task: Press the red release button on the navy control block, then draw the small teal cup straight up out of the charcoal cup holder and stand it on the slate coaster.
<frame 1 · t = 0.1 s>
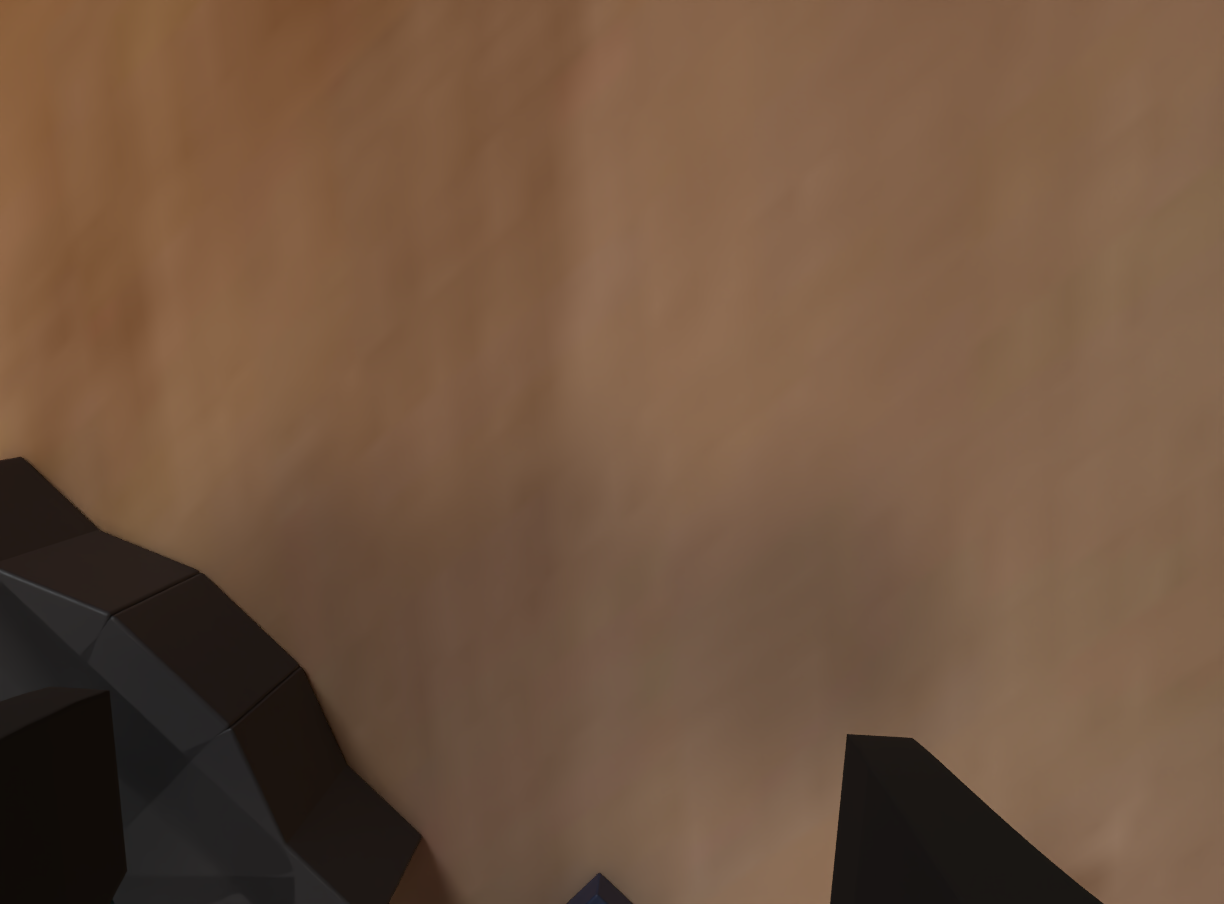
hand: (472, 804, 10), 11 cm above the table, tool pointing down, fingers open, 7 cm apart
cup holder: (32, 848, 22), on the table
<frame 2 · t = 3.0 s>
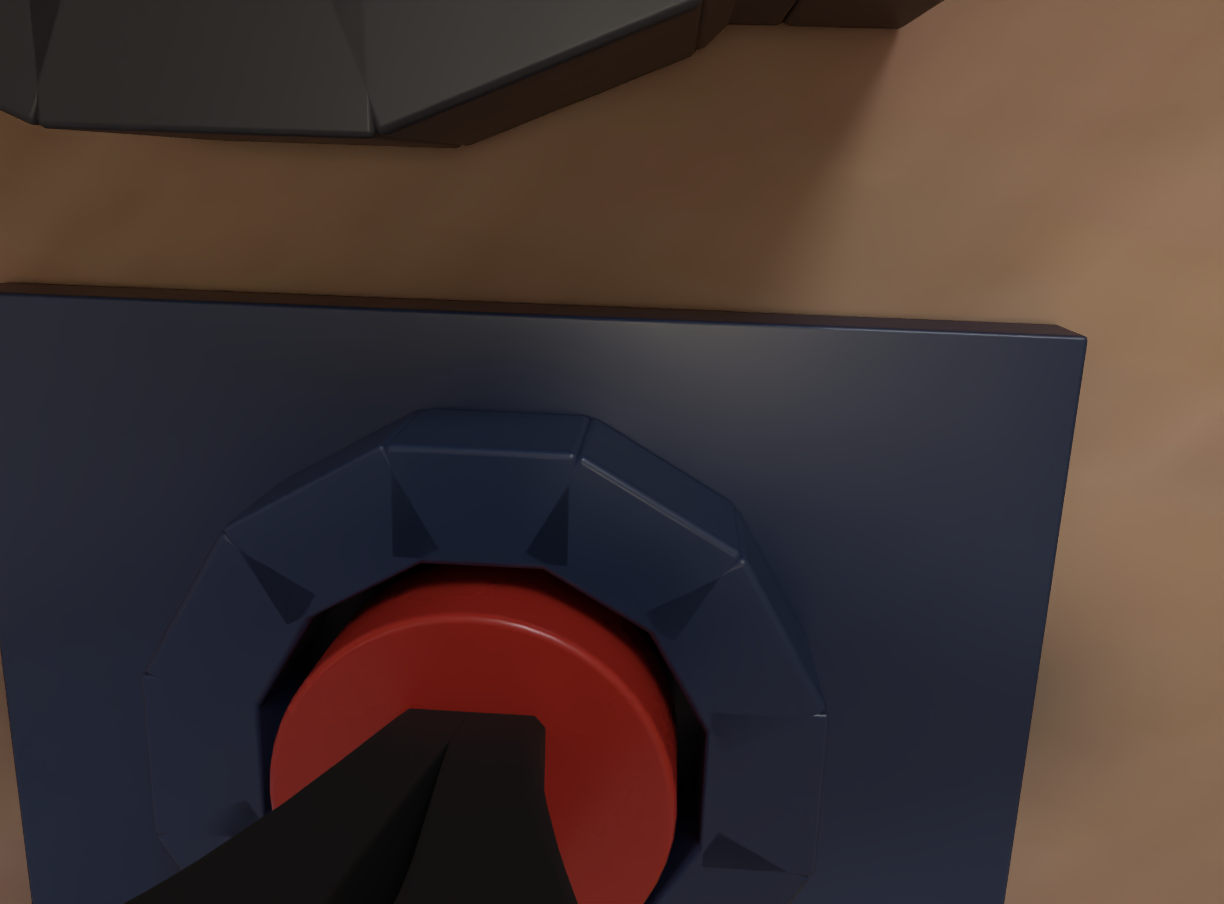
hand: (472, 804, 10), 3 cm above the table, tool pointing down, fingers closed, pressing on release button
control block: (515, 666, 13), on the table
release button: (483, 764, 11), point 2 cm above the table, slide at -0.5 cm, touching gripper
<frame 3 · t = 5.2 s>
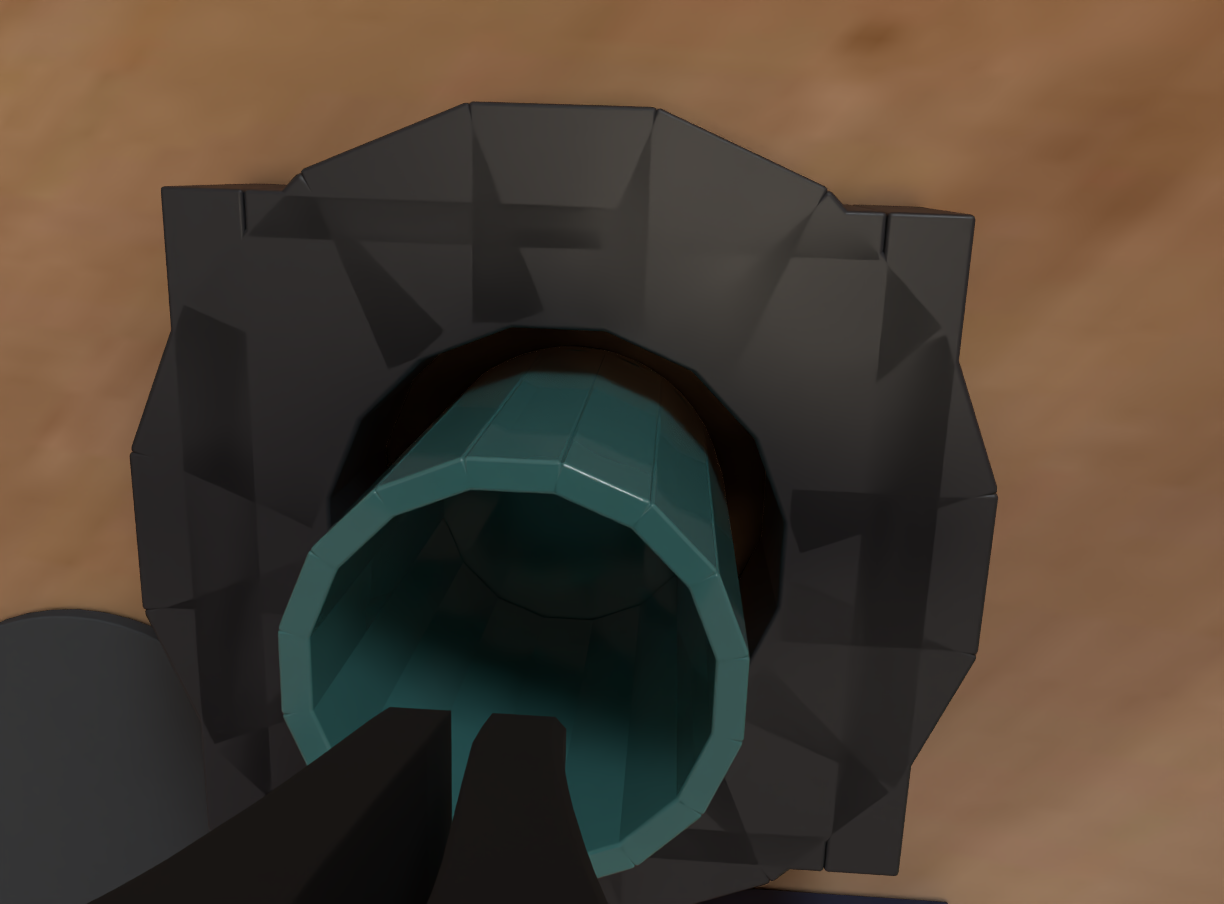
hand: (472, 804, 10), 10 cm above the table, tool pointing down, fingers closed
cup: (549, 566, 16), in the cup holder
cup holder: (574, 491, 20), on the table
coaster: (98, 783, 23), on the table
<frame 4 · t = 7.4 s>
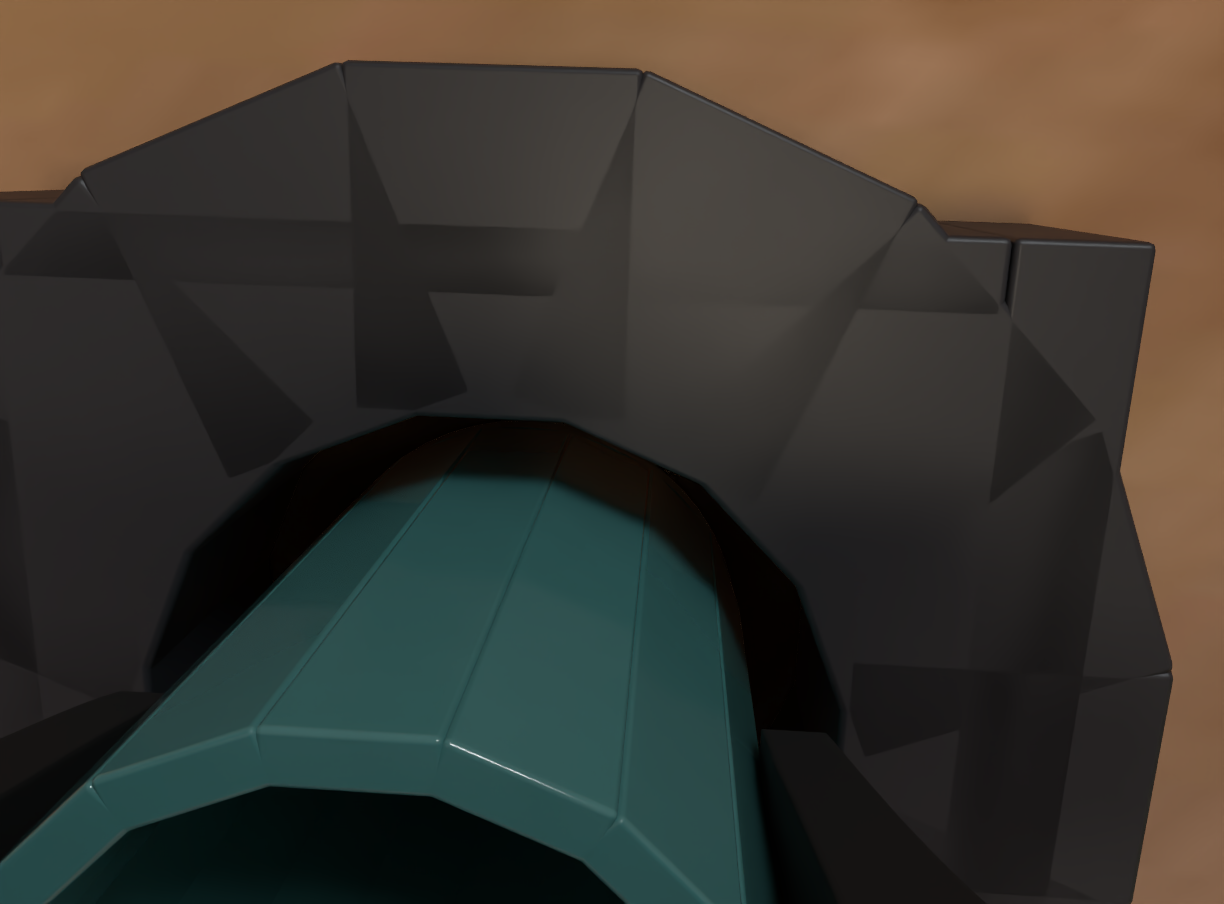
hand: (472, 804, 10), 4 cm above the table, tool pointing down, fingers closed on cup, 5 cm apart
cup: (475, 780, 11), in the cup holder, touching gripper
cup holder: (532, 618, 15), on the table
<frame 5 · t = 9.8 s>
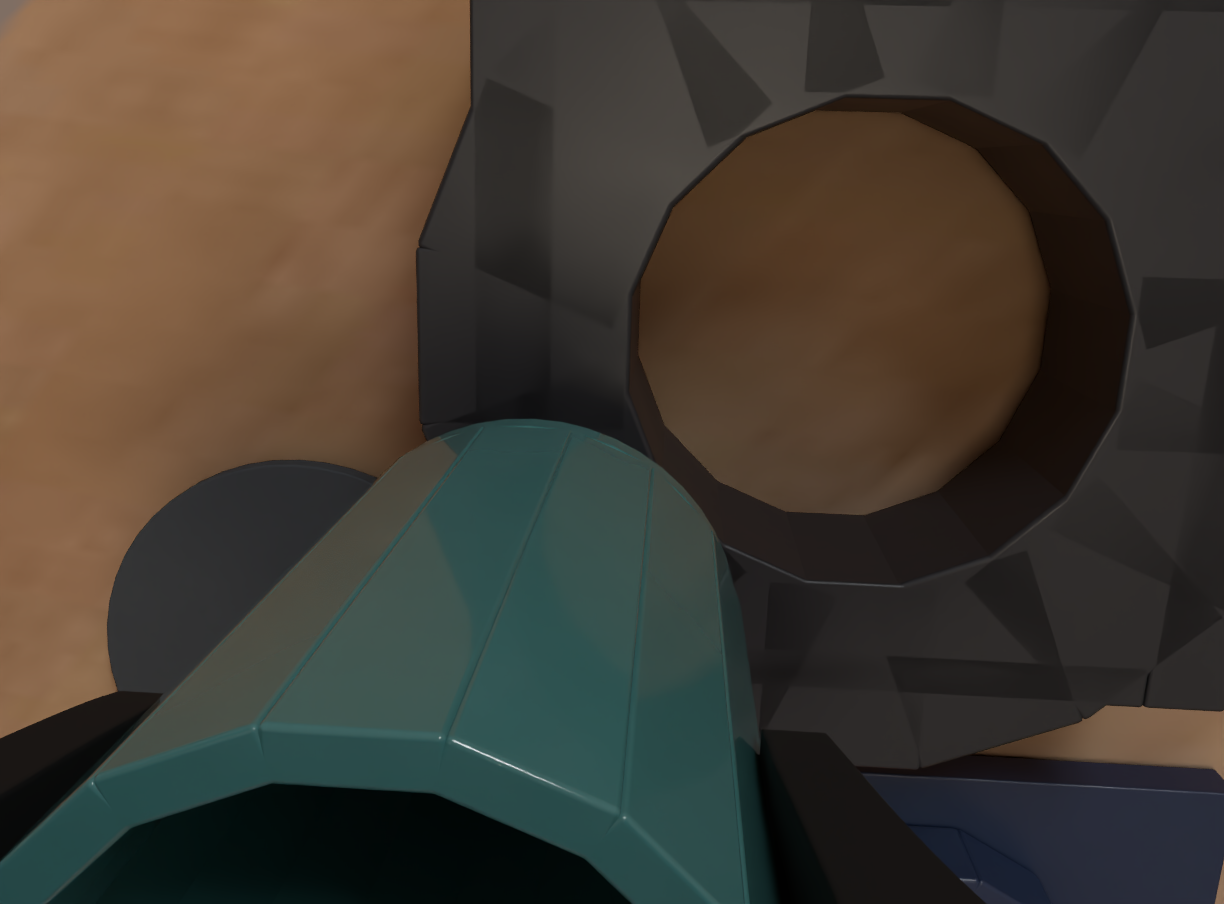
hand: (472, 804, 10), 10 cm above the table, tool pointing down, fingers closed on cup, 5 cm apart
cup: (477, 778, 11), point 10 cm above the table, touching gripper
cup holder: (839, 322, 19), on the table
coaster: (310, 650, 21), on the table
when the fingers open (5 cm above the table, at t = 12.3 s): cup stays where it is, resting on coaster.
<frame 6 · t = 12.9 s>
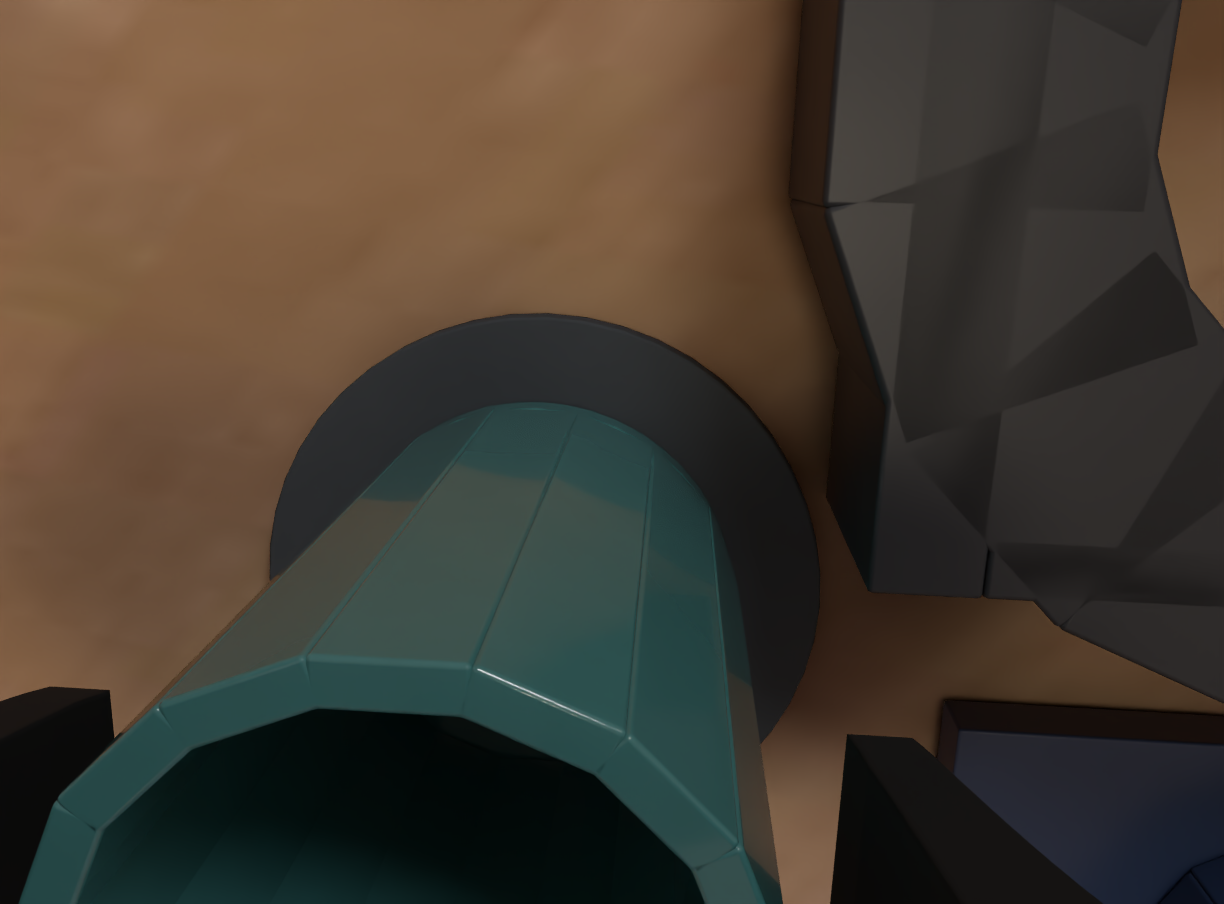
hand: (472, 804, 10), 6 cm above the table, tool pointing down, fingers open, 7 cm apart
cup: (490, 732, 11), on the coaster
coaster: (544, 583, 16), on the table
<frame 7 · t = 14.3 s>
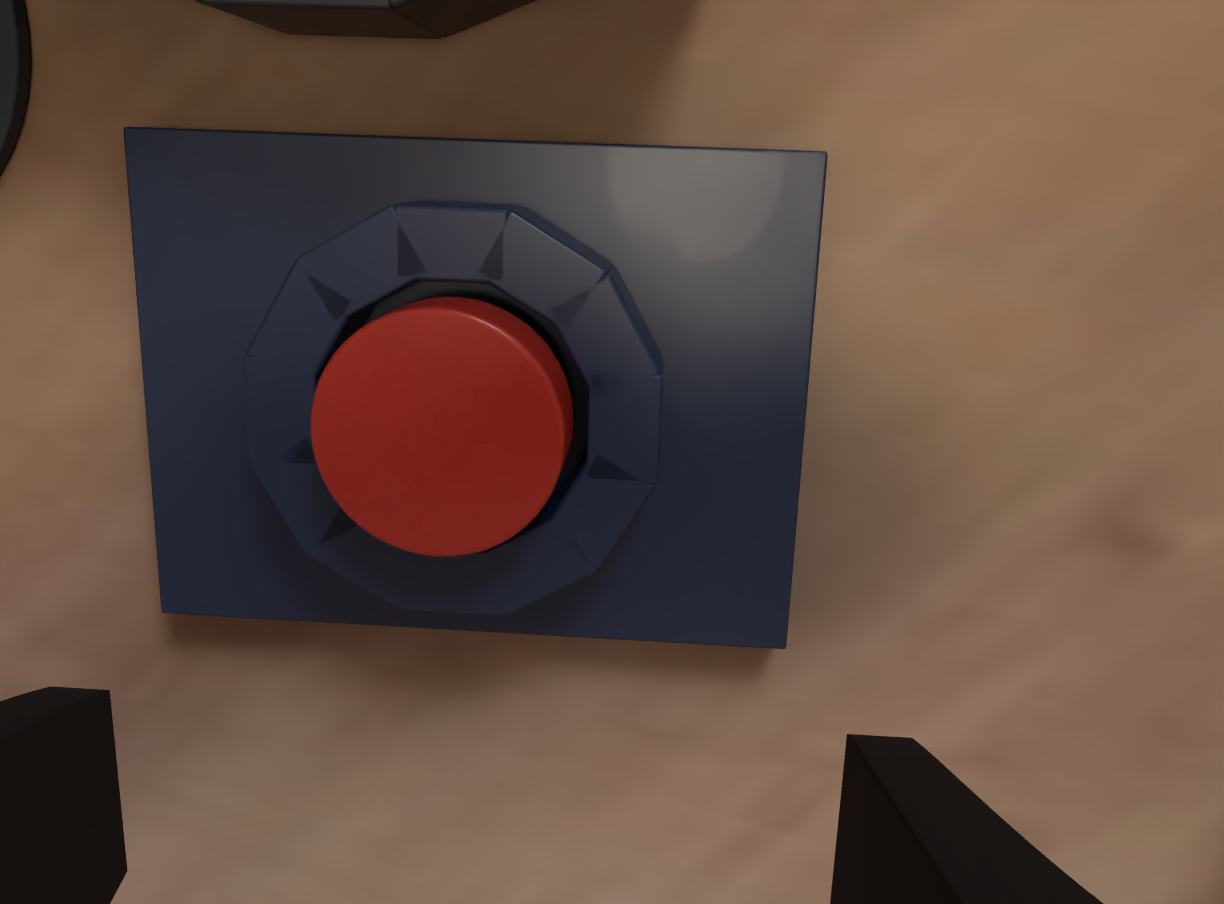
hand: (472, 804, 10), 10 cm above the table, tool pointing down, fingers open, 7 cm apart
control block: (478, 390, 20), on the table
release button: (446, 425, 17), point 3 cm above the table, slide at 0.1 cm
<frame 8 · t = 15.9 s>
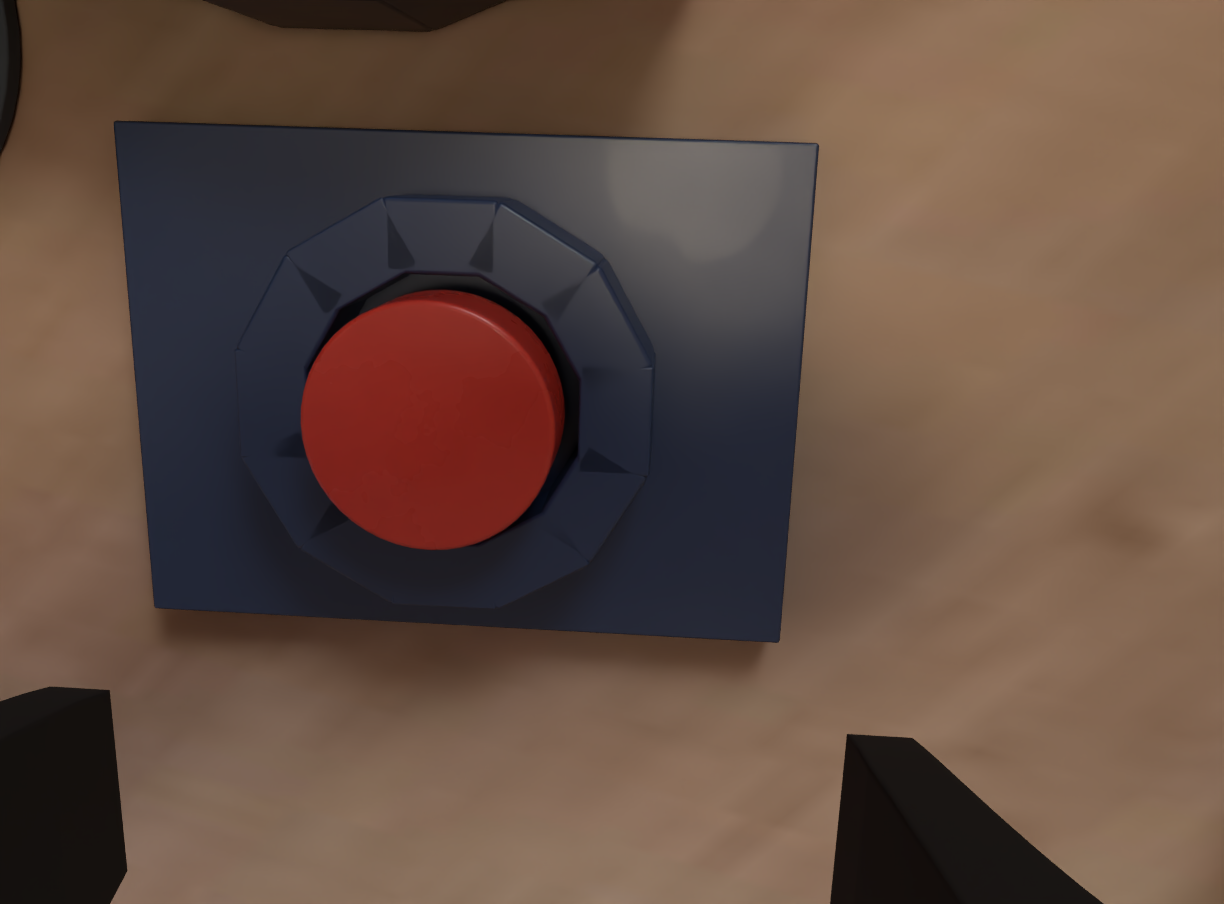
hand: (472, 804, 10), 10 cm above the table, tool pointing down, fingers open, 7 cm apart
control block: (470, 384, 20), on the table
release button: (437, 418, 17), point 3 cm above the table, slide at 0.1 cm
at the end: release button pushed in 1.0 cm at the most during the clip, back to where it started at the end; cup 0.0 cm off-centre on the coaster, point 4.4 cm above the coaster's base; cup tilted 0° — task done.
